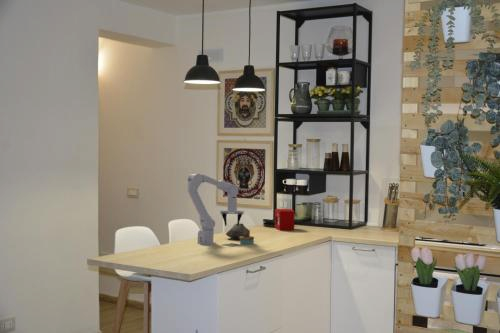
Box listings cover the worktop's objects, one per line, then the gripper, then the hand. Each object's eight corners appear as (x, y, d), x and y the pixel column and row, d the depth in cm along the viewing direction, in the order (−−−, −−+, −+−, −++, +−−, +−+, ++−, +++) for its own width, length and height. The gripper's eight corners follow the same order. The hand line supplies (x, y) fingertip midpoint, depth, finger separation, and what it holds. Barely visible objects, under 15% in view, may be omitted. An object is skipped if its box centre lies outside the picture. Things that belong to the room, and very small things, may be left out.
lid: (249, 240, 368) (249, 231, 368) (236, 238, 373) (236, 230, 373) (256, 238, 376) (256, 230, 376) (244, 237, 381) (244, 229, 381)
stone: (255, 221, 396) (241, 223, 384) (256, 237, 396) (243, 240, 383) (233, 223, 407) (219, 225, 394) (234, 239, 406) (220, 241, 394)
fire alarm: (274, 228, 459) (274, 208, 458) (288, 227, 461) (288, 208, 460) (279, 230, 443) (279, 210, 442) (294, 230, 445) (294, 210, 444)
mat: (232, 247, 362) (232, 246, 362) (220, 245, 368) (220, 244, 368) (243, 245, 369) (243, 245, 369) (231, 243, 376) (231, 243, 376)
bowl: (247, 245, 369) (247, 239, 369) (237, 244, 375) (237, 238, 374) (256, 244, 375) (256, 238, 375) (246, 242, 380) (246, 237, 380)
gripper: (219, 204, 378) (219, 226, 378) (243, 204, 377) (242, 226, 377) (221, 203, 385) (220, 224, 385) (244, 203, 384) (243, 225, 384)
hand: (231, 225), depth 382 cm, fingers open, 7 cm apart
